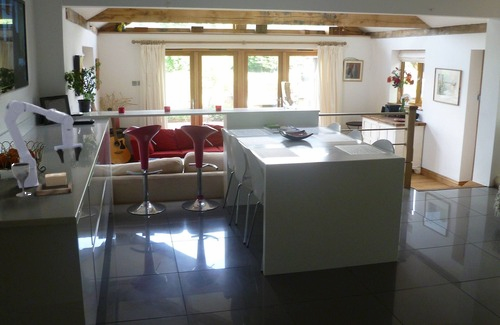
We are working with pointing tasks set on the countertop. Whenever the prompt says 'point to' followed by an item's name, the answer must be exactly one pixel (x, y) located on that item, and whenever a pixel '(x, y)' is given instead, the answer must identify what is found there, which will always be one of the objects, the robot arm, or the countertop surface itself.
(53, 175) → the carton
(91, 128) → the countertop surface
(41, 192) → the cradle
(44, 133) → the countertop surface
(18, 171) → the wine glass
